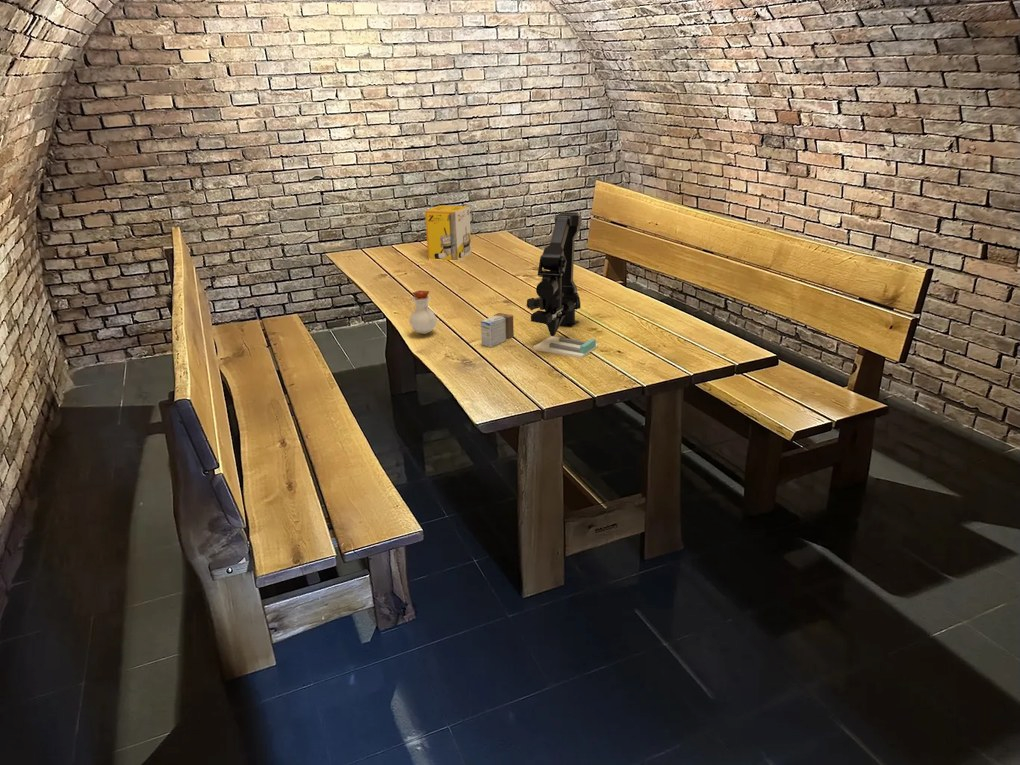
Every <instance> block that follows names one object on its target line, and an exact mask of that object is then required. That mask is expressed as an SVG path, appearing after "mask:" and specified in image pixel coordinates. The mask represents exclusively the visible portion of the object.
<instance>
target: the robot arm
mask: <svg viewBox="0 0 1020 765" xmlns="http://www.w3.org/2000/svg"><path fill="white" fill-rule="evenodd" d="M579 214H580V213H579V212H577V211H576V212H574V211H560V212H559V213H558V214H555V215H554V227H553V231H552V235H551V238H550V243H549V245H548V246H546V247H545V248H544V250H543V252H542V254H541V255H540V257H539V263H538V269H537V276H538V277H542V278H541V279H542V280H541V281H539V283H538V284H537V286H536V287H535V288H536V289H535V291H536V295H537V296H538V297H535V298H534V297H531V298H528V299H526V307H527V309H529V310H530V311H533V310H536V309H539V310H536V311H535V312H533V313H532V314H531V315H530V322H532V323H537V324H544V325H545V324H546V327H547V329H548V332H549V334H550V336H555V337H556V333H557V331H558V329H559V327H560V326H561V327H566V328H567V327H568V328H572V327H574V326H575V325H577V324H578V323H579V322H580V321H579V320H576V311H577V310H578V309H579V310H580V309H581V303H582V302H581V298H580V295H579V293H578V287H577V284H576V283H575V281H574V265H575V264H574V262H575V261H574V260H575V242H576V240H575V239H576V237H577V235H578V234H579V232H580V231H581V227H582V223H583V218H582V217H583V216H581V215H579Z"/></svg>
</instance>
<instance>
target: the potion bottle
mask: <svg viewBox="0 0 1020 765" xmlns="http://www.w3.org/2000/svg"><path fill="white" fill-rule="evenodd" d="M411 293H412V295H413V297H411V300H412V302H413V303H414V304H415V305H414V306H415V309H414V310H413V312H411V314H410V315H409V324H410V326H411V329H412V330H413V331H415V333H417V334H422V335H423V334H428V333H431V332H432V331H433V330H434V329H435V328H436V326H437V317H436V315H435V312H434V311H432V310H431V309H430V308H429V303H428V302H429V301H430V300H431V296H430V295H429V293H430V291H429V290H417V291H414V292H411Z"/></svg>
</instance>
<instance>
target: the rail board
mask: <svg viewBox="0 0 1020 765" xmlns="http://www.w3.org/2000/svg"><path fill="white" fill-rule="evenodd" d="M598 347H599V344H597V340H596V339H595V338H590V339H588V340H587V341H584V340H578V339H575V338H574V339H572V338H567V337H562V336H560V337H558V336H556V335H555V336H551V335H550V336H548V337H547V338H544V339H543V340H542V341H540V342H538V343H537V344H535V345H533V346H532V350H535V351H540V352H544V353H545V352H546V353H550V354H556V355H561V356H565V357H566V356H567V357H571V358H577V359H583V358H584V357H585V356H587V355H589V354H590V353H591V352H592V351H593V350H595V349H596V348H598Z"/></svg>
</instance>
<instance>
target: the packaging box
mask: <svg viewBox="0 0 1020 765" xmlns="http://www.w3.org/2000/svg"><path fill="white" fill-rule="evenodd" d="M470 208H471V207H470V206H463V205H462V206H461V205H437V206H435V207H431V208H429V209H426V210H424V215H425V228H426V229H425V230H426V245H427V247H426V248H427V258H430V259H442V260H460V259H462V258H463V257H465V256H467V255H468V254H470V253H471V252H472V234H471V231H472V230H471V214H470V213H471V209H470ZM467 257H468V256H467Z"/></svg>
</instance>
